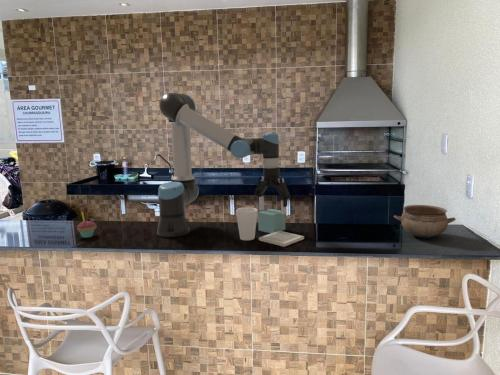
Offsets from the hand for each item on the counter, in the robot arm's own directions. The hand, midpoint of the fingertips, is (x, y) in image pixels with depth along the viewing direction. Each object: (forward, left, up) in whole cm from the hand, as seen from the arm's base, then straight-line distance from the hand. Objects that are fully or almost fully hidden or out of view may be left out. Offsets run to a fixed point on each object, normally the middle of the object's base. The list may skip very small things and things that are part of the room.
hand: (272, 211), depth 190 cm
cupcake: (-60, -62, -9) cm, 87 cm away
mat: (+13, -9, -9) cm, 18 cm away
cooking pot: (+58, +34, -9) cm, 67 cm away
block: (0, 0, -9) cm, 9 cm away
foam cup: (0, -17, -9) cm, 20 cm away
